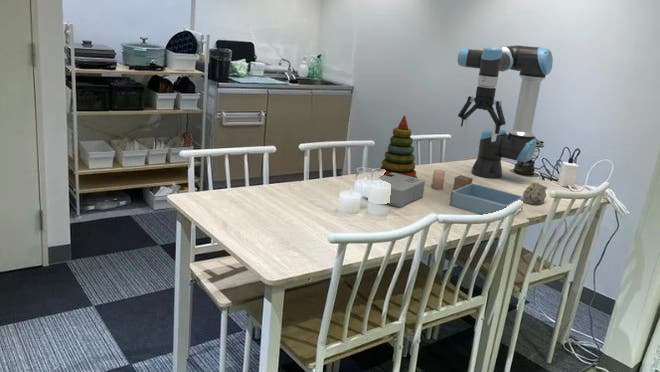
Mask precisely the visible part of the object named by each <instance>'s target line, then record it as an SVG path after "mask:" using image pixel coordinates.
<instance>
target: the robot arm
mask: <svg viewBox="0 0 660 372" xmlns="http://www.w3.org/2000/svg"><path fill="white" fill-rule="evenodd" d="M553 62H554V60H553V54H552V51H551V50H550V49H549V48H546V47H540V46H526V45H525V46H524V45H506V46H499V47H494V46H492V47H491V46H485V47H483V49H472V48H471V49H470V48H462V49H460V50H459V52H458V54H457V64H458V66H459V67H464V68H468V69H469V68H471V69H479V73H478V79H477V86H476V91H475V97H474V96H473V95H469V96H468V97H467V100H466V102H465V103H464V105H463V107H462V108H461V110H460V111H459V113H458V114H457V117H459V118H461V122H460V123H461V124H460V127H462V129H461V136H465V135H466V136H467V130H468V124H469V119H468V118H469V117H470V116H471V115H473V113H474V112H475V111H476V110H477V109H478V110H483V111H487V113H489V116H490V117H491V118H492V121H493V123H494V125H493V128H492V129H485V130H483V131H482V132H481V135H480V138H479V145H478V151H477V158H476V160H475V162H474V163H473V166H472V168H471V173H472V174H473V175H475V176H477V177H481V178H487V179H500V178H502V177H503V167H502V158H503V159H509V160H513V161H516V162H522V163H527V162H529V161H530V159H532V157H533V155H534V154H535V152H536V149H537V140H536V139H535V138H534V136H535V135H534V133H533V132H532V129H533V125H534V119H535V113H536V109H537V105H538V104H537V103H538V100H539V99H538V98H539V93H540V89H541V83H542V81H543V80H544V79H546V76H547V75H549V74H550V73H551V71H552V69H553ZM509 70H512V71H517V72H519V77H520V79H521V83H520V88H519V94H518V100H517V105H516V110H515V115H514V121H513V126H512V129H510V130H509V131H508V133H507V131H506V130H504V129H501V126H505V125H506V124H507V123H506V120H505V116H504V115H505V114H504V111H503V107H502V101H501V100H495V96H496V91H497V89H496V87H497V85H498V79H499V73H500V72H503V73H504V72H506V71H509ZM473 102H474V104H473V105H472V103H473ZM471 105H472V107H471ZM493 106H495V108H494V107H493ZM469 107H471V108H470V109H469ZM495 111H496V112H495Z"/></svg>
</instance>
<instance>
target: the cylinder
mask: <svg viewBox="0 0 660 372" xmlns="http://www.w3.org/2000/svg"><path fill="white" fill-rule="evenodd" d="M445 175H446V171H444V170H443V169H434V170H433V176H432V181H431V182H432V183H431V188H432V189H433V190H437V191H439V190H440V191H441V190H442V191H443V188H444V183H445V182H444V181H445V177H446V176H445Z"/></svg>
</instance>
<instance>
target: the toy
mask: <svg viewBox="0 0 660 372" xmlns="http://www.w3.org/2000/svg"><path fill="white" fill-rule="evenodd" d="M411 135H412V129H411V128H409V126H408V122H407V118H406V115H403V116H402V118H401V121H400V122H399V124H398V126H397V127H394V128H393V129H392V136H390V139H389V143H388V145H387V151H385V153H384V157H385V158H384V159H383V160H382V161H381V166H380V168H379V170H380V169H385V170H386V172H385V173H384V175H387V174H389V173H398V174H402V175H406V176H410V177H414V178H418V177H417V171H416V170H415V169H416V164H415V162H414V161H415V159H416V158H415V155H414V154H413V153H414V151H415V148H414V146H412V145H413V142H414V140H413V137H411ZM384 175H383V176H384ZM418 179H419V178H418Z"/></svg>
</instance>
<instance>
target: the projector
mask: <svg viewBox="0 0 660 372" xmlns="http://www.w3.org/2000/svg"><path fill="white" fill-rule="evenodd" d="M379 178H380V179H381V180H383V181H386V182H388V183H390V184H391V195H390V206H394V207H396V208H403V207H405V206H407V205H408V204H410V203H412V202H414V201H416V200H418V199H420V198H423V196H424V194H425V193H424V192H425V185H426V181H425V180H424V179H421V178H414V177H410V176H406V175H402V174H398V173H389V174H387V175H384V176H381V177H379Z"/></svg>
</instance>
